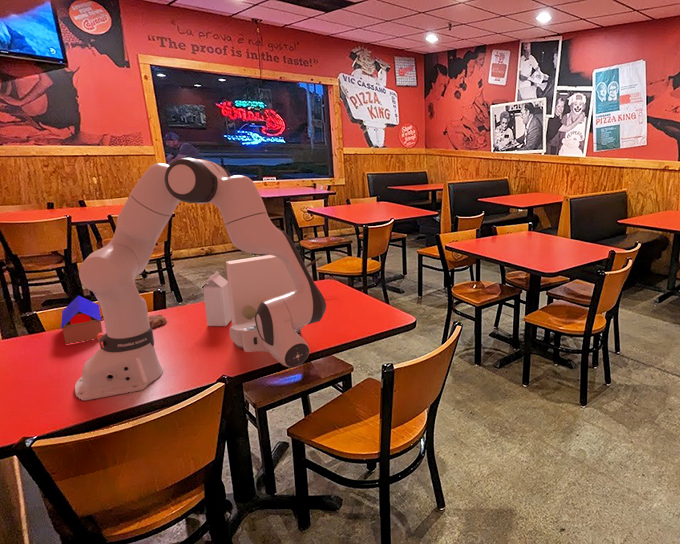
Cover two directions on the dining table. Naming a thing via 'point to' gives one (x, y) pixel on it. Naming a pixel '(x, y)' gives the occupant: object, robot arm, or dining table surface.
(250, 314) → the olive button
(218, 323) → the milk carton
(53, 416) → the dining table surface
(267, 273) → the button panel
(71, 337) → the house
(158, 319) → the cookie
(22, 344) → the dining table surface
